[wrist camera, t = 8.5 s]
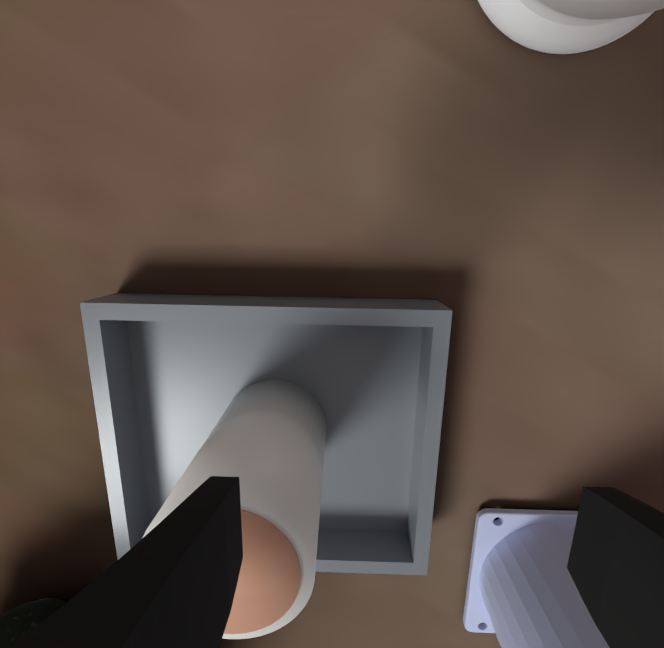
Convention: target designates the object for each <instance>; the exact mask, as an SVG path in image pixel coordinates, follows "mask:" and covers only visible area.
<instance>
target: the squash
mask: <svg viewBox="0 0 664 648" xmlns="http://www.w3.org/2000/svg"><path fill="white" fill-rule="evenodd" d="M64 604H66V602H65V601H63V600H60V599H54V598H45V599H39V600H35V601H31V602H26V603H24V604H22V605H19V606H17V607H15V608H13V609H11V610H8V611H6V612H3V613H1V614H0V648H8V647H9V646H10V645H12V644H13V643H14V642H16V641H17V640H19V639H20V638H21V637H23V636H24V635H25V634H27V633H28V632H29V631H31V630H32V629H33V628H35V627H36V626H37V625H38V624H40V623H41V622H42V621H44V620H45V619H46V618H48V617H49V616H50V615H51V614H53V613H54V612H55V611H57V610H58V609H59V608H60V607H62V606H63V605H64Z"/></svg>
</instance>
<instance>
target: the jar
mask: <svg viewBox="0 0 664 648" xmlns="http://www.w3.org/2000/svg"><path fill="white" fill-rule="evenodd" d="M478 2H479V4H480V6H481V8H482V9H483V11H484V12H485V14H486V15H487V16H488V18H489V19H490V20H491V22H492V23H493V24H494V25H495V26H496V27H497V28H498V29H499V30H500V31H501V32H502V33H504V34H505V35H506V36H507V37H509V38H510V39H512V40H513V41H515V42H517V43H519V44H520V45H522V46H525V47H527V48H529V49H532V50H536V51H540V52H544V53H550V54H573V53H580V52H585V51H589V50H593V49H596V48H599V47H602V46H604V45H607V44H609V43H611V42H613V41H615V40H617V39H619V38H621V37H622V36H624V35H626V34H627V33H629V32H630V31H632V30H633V29H635V28H636V27H637V26H639V25H640V24H641V23H642V22H644V21H645V20H646V19H647V18H648V17H649V16H650V15H652V14H653V13H654V12H655V11H657V10H661V9H664V0H478Z"/></svg>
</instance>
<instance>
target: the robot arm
mask: <svg viewBox="0 0 664 648" xmlns="http://www.w3.org/2000/svg"><path fill="white" fill-rule="evenodd" d="M497 517H499V519H497V520H494V519H495V518H497ZM242 560H243V545H242V524H241V503H240V483H239V477H224V476H210V477H209V478H208V479H207V480H206V481H205V482H204V483H203V484H201V485H200V486H199V487H198V488H197V489H196V490H195V491H194V492H193V493H192V494H190V495H189V496H188V497H187V498H186V499H185V500H184V501H183V502H182V503H181V504H180V505H179V506H177V507H176V508H175V509H174V510H173V511H172V512H171V513H170V514H169V515H168V516H167V517H166V518H164V519H163V520H162V521H161V522H160V523H159V524H158V525H157V526H156V527H155V528H154V529H152V530H151V531H150V532H149V533H148V534H147V535H146V536H145V537H143V538H142V539H141V540H140V541H139V542H138V543H137V544H136V545H134V546H133V547H132V548H131V549H130V550H129V551H128V552H127V553H125V554H124V555H123V556H122V557H121V558H120V559H119V560H117V561H116V562H115V563H114V564H113V565H111V566H110V567H109V568H108V569H107V570H105V571H104V572H103V573H102V574H101V575H99V576H98V577H97V578H96V579H94V580H93V581H92V582H91V583H90V584H88V585H87V586H86V587H85V588H84V589H82V590H81V591H80V592H79V593H78V594H76V595H75V596H74V597H73V598H72V599H70V600H69V601H68V602H67V603H66V604H64V605H63V606H62V607H60V608H59V609H58V610H57V611H55V612H54V613H53V614H51V615H50V616H49V617H48V618H46V619H45V620H44V621H42V622H41V623H40V624H38V625H37V626H36V627H35V628H33V629H32V630H31V631H29V632H28V633H27V634H25V635H24V636H23V637H21V638H20V639H19V640H17V641H16V642H14V643H13V644H12V645H10V646H9V647H8V648H219V646H220V643H221V640H222V637H223V634H224V631H225V628H226V625H227V622H228V618H229V615H230V612H231V608H232V604H233V599H234V595H235V591H236V587H237V582H238V578H239V573H240V569H241V564H242ZM463 623H464V626H465V628H466V630H468V631H470V632H482V633H496V635H497V638H498V641H499V643H500V646H501V648H664V514H663V513H661V512H660V511H658V510H656V509H654V508H652V507H650V506H649V505H647V504H645V503H643V502H641V501H639V500H637V499H635V498H633V497H631V496H629V495H628V494H625V493H623V492H621V491H619V490H617V489H615V488H608V487H583V491H582V496H581V501H580V506H579V510H578V511H562V510H528V509H494V508H485V509H482V510H480V511H479V512H478V513H477V516H476V523H475V530H474V538H473V546H472V553H471V561H470V569H469V577H468V584H467V592H466V600H465V607H464V615H463Z"/></svg>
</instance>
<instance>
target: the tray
mask: <svg viewBox="0 0 664 648" xmlns="http://www.w3.org/2000/svg"><path fill="white" fill-rule="evenodd" d="M80 307H81V314H82V321H83V327H84V334H85V341H86V348H87V355H88V362H89V368H90V375H91V382H92V389H93V396H94V403H95V409H96V416H97V423H98V430H99V437H100V444H101V450H102V457H103V464H104V471H105V478H106V485H107V491H108V498H109V505H110V512H111V519H112V526H113V532H114V539H115V546H116V553H117V560H119V559H120V558H121V557H122V556H123V555H124V554H125V553H127V552H128V551H129V550H130V549H131V548H132V547H133V546H134V545H136V544H137V543H138V542H139V541H140V540H141V539H142V538H143V536H144V534H145V532H146V530H147V528H148V527H149V525H150V524H151V522H152V521H153V519H154V518H155V516H156V515H157V513H158V512H159V510H160V508H161V507H162V505H163V504H164V502H165V501H166V499H167V498H168V496H169V495H170V493H171V492H172V490H173V489H174V487H175V486H176V484H177V483H178V481H179V480H180V478H181V477H182V475H183V474H184V472H185V471H186V469H187V468H188V466H189V465H190V463H191V462H192V460H193V459H194V457H195V456H196V454H197V453H198V451H199V450H200V448H201V447H202V445H203V444H204V442H205V441H206V439H207V438H208V436H209V435H210V433H211V432H212V430H213V429H214V427H215V426H216V424H217V423H218V421H219V419H220V418H221V416H222V415H223V413H224V412H225V410H226V409H227V407H228V406H229V404H230V403H231V401H232V400H233V399H234V397H235V396H236V395H237V394H238V393H239V392H240V391H241V390H243V389H244V388H246V387H247V386H249V385H251V384H253V383H256V382H259V381H264V380H283V381H288V382H291V383H294V384H296V385H298V386H300V387H302V388H304V389H305V390H307V391H308V392H309V393H310V394H311V395H312V396H313V397H314V398H315V399H316V400H317V402H318V403H319V404H320V406H321V408H322V410H323V412H324V415H325V419H326V442H325V454H324V467H323V480H322V493H321V505H320V518H319V531H318V544H317V556H316V569H315V572H342V573H373V574H404V575H427V570H428V559H429V549H430V539H431V528H432V518H433V508H434V497H435V487H436V477H437V466H438V456H439V446H440V435H441V425H442V415H443V404H444V394H445V384H446V373H447V363H448V353H449V342H450V332H451V322H452V310H451V309H450V308H448V307H447V306H445V305H444V304H442V303H441V302H439V301H438V300H427V299H379V298H331V297H283V296H235V295H186V294H138V293H114V294H111V295H107V296H103V297H99V298H96V299H92V300H88V301H84V302H80Z"/></svg>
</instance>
